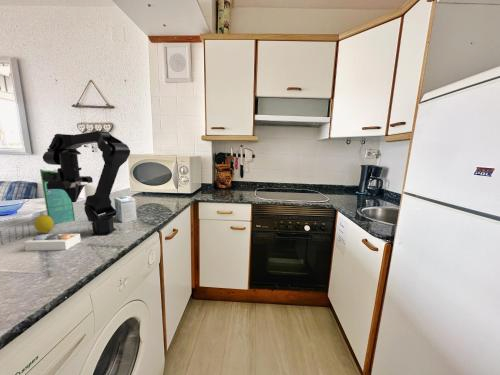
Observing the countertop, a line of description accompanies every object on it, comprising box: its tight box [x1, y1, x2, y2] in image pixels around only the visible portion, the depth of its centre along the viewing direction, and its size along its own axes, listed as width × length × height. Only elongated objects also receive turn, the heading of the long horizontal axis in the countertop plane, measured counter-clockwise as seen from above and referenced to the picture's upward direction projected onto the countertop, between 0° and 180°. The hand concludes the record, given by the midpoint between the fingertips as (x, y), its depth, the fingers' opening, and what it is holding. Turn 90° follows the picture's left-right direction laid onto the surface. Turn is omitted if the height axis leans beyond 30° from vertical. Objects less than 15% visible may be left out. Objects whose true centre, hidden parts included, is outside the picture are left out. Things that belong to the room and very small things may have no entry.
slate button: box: [34, 233, 48, 240], centre depth 74 cm, size 3×3×3 cm
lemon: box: [34, 214, 55, 234], centre depth 85 cm, size 6×6×8 cm
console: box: [23, 233, 82, 252], centre depth 75 cm, size 7×13×3 cm, turn 94°
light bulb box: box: [113, 195, 138, 223], centre depth 104 cm, size 11×7×11 cm, turn 47°
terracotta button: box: [60, 233, 72, 240], centre depth 75 cm, size 3×3×3 cm
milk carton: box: [39, 168, 76, 225], centre depth 100 cm, size 9×9×25 cm
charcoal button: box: [47, 233, 60, 240], centre depth 74 cm, size 3×3×3 cm
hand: (74, 202), depth 89 cm, fingers closed
